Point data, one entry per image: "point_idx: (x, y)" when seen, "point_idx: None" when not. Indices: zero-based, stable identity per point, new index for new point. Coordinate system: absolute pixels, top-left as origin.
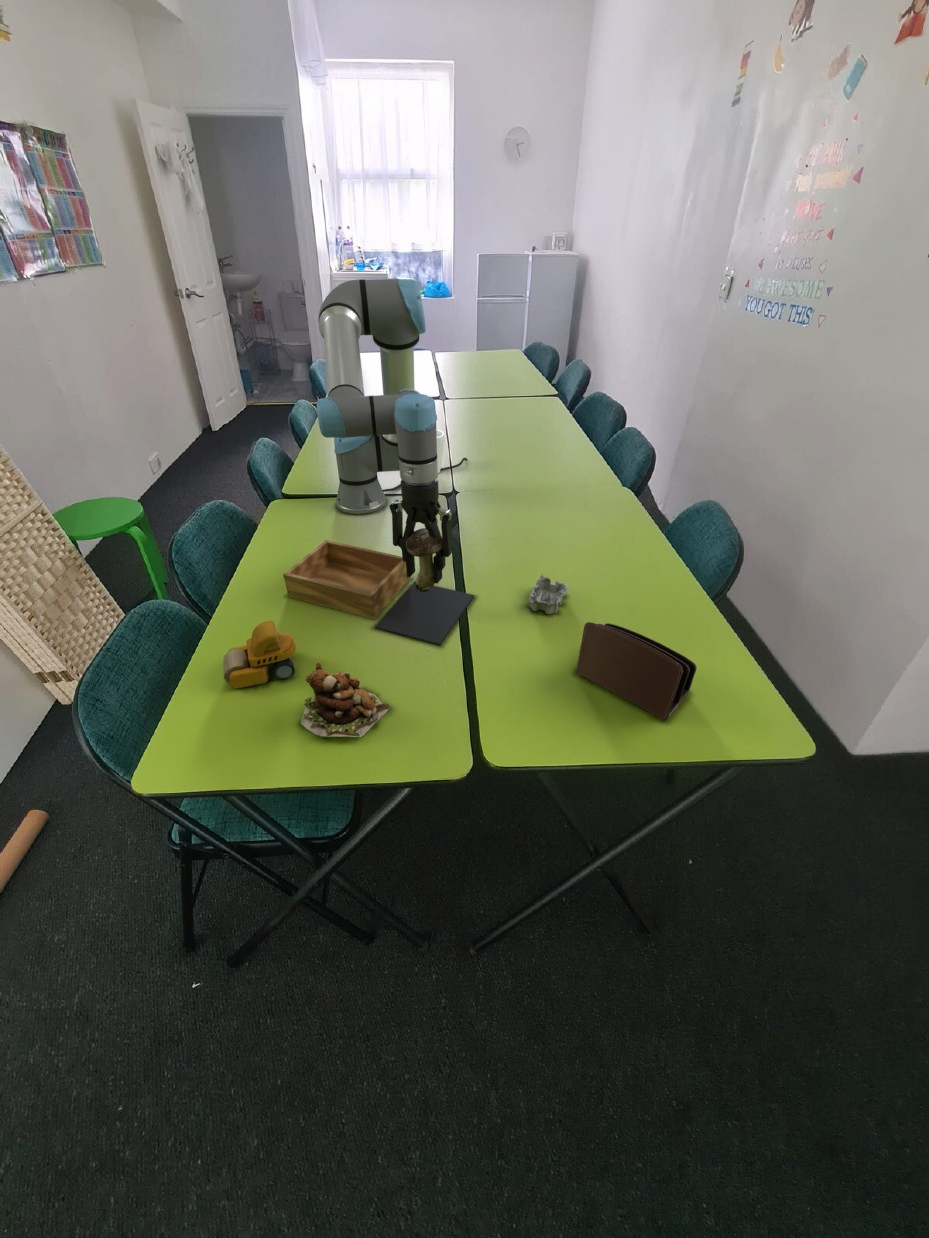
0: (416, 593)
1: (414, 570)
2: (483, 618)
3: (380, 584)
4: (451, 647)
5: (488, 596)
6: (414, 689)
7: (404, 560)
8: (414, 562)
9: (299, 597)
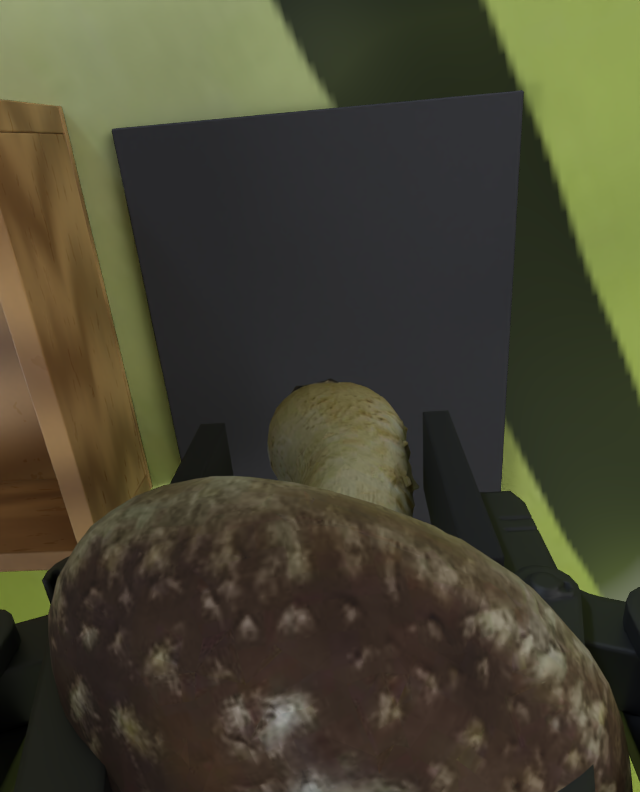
0: (199, 245)
1: (223, 441)
2: (631, 266)
3: (64, 467)
4: (545, 506)
5: (607, 34)
6: None
7: None
8: (207, 468)
9: None
